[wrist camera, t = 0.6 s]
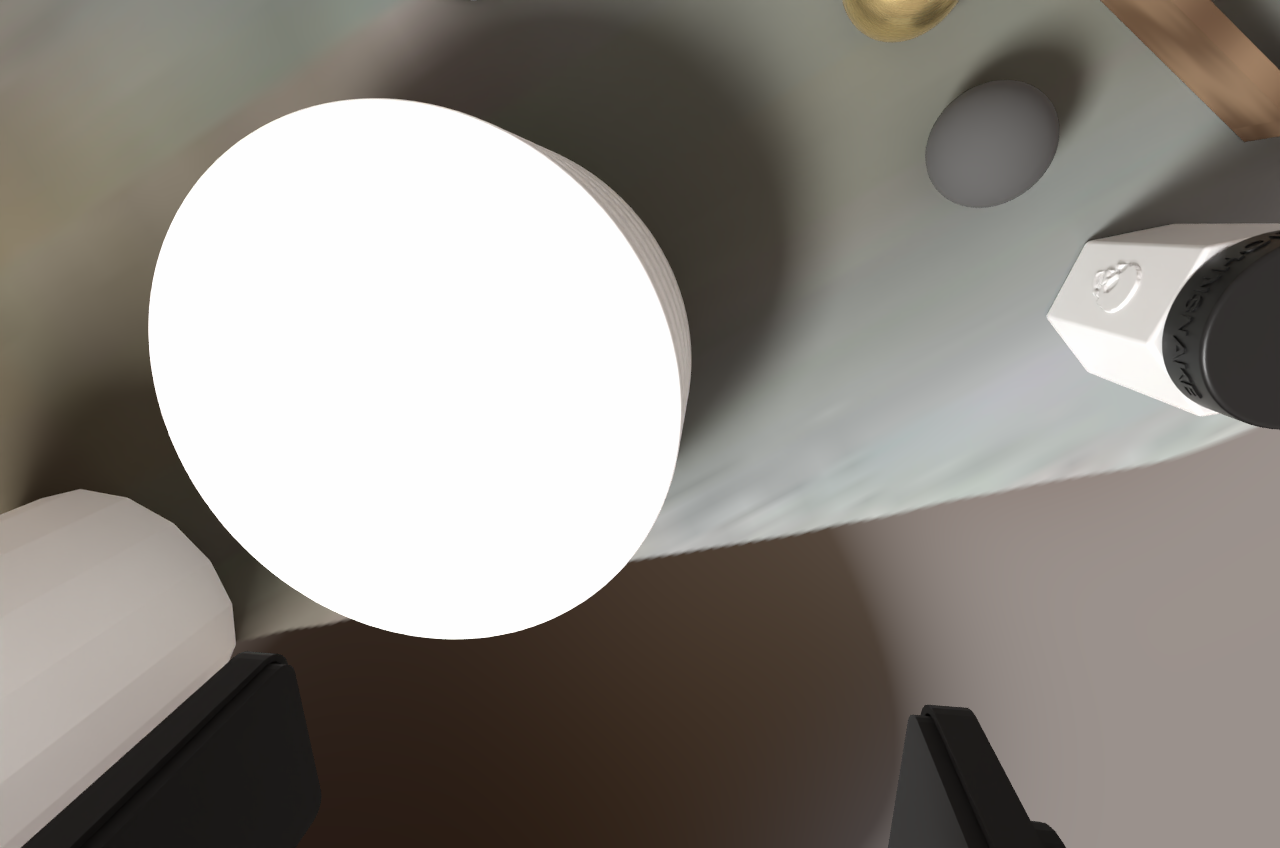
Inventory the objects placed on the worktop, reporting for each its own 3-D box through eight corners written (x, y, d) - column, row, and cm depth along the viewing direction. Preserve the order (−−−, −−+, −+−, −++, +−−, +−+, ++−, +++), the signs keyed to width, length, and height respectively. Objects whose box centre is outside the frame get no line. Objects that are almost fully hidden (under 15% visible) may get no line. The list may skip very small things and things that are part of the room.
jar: (1102, 200, 35) (1289, 188, 23) (1241, 246, 34) (1499, 257, 23) (1021, 349, 37) (1153, 403, 26) (1150, 393, 37) (1338, 465, 26)
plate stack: (633, 75, 36) (596, 9, 25) (730, 508, 43) (734, 603, 32) (227, 201, 41) (50, 192, 30) (377, 568, 48) (279, 667, 37)
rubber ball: (888, 163, 35) (920, 151, 30) (970, 68, 33) (1021, 36, 28) (963, 231, 36) (1010, 232, 30) (1048, 142, 34) (1115, 125, 28)
